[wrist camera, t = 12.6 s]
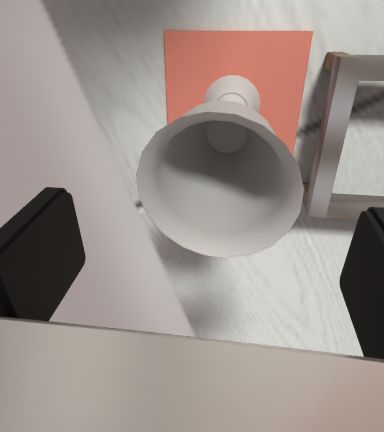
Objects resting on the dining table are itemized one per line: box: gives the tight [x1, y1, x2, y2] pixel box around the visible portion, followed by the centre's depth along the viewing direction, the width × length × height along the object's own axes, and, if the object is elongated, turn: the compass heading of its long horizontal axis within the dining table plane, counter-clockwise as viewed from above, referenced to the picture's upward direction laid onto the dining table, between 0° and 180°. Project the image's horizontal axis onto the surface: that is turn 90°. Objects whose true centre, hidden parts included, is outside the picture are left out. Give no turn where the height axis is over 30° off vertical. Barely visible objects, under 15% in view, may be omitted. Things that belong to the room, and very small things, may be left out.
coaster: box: [164, 31, 313, 155], centre depth 30 cm, size 12×12×1 cm
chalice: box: [136, 75, 304, 258], centre depth 22 cm, size 7×7×18 cm
